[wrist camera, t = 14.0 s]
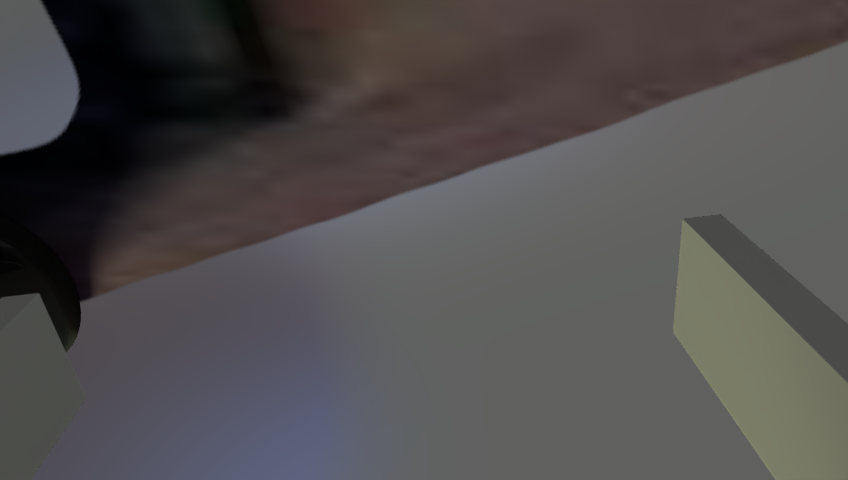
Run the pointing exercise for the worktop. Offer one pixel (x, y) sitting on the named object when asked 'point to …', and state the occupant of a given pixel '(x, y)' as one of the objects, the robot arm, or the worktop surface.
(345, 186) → the worktop surface
